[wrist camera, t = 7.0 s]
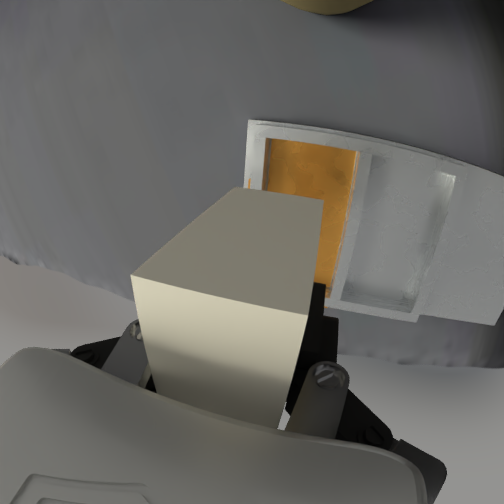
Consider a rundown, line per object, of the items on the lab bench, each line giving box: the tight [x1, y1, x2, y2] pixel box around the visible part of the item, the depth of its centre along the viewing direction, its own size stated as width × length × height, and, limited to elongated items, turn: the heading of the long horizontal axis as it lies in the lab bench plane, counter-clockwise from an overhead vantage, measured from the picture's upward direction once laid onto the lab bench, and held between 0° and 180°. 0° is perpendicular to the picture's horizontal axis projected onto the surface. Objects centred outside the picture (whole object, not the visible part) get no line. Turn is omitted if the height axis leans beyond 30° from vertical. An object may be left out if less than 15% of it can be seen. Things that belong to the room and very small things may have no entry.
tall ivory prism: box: [131, 187, 324, 429], centre depth 10 cm, size 4×9×7 cm, turn 175°
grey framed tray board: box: [244, 119, 504, 325], centre depth 19 cm, size 25×13×2 cm, turn 85°
